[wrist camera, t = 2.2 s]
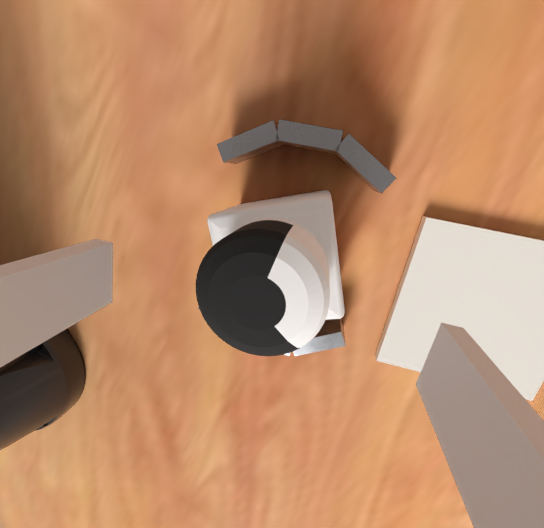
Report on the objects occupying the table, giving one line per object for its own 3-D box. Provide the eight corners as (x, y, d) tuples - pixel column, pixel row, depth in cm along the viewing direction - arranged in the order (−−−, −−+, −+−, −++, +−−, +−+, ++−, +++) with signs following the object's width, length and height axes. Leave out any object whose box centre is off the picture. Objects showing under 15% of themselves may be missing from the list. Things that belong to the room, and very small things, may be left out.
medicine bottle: (255, 287, 25) (197, 378, 14) (239, 203, 24) (157, 231, 12) (340, 279, 24) (352, 373, 13) (330, 188, 22) (333, 204, 11)
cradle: (209, 314, 27) (195, 331, 24) (234, 117, 22) (220, 109, 19) (337, 347, 26) (338, 369, 23) (396, 146, 20) (407, 141, 18)
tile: (374, 355, 25) (376, 360, 24) (422, 215, 21) (426, 217, 21) (525, 393, 24) (532, 400, 23) (605, 252, 20) (616, 255, 19)
